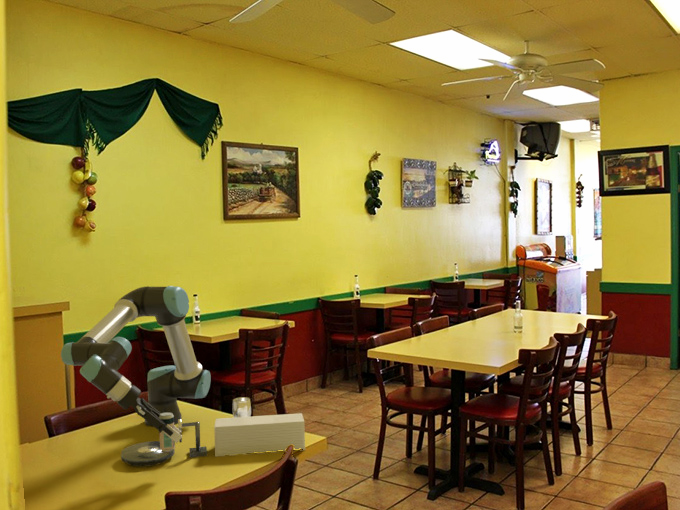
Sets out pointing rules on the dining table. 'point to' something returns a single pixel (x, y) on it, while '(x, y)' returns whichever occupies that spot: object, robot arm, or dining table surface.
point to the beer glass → (241, 407)
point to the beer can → (165, 441)
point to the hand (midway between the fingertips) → (178, 437)
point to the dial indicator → (198, 450)
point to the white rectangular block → (258, 434)
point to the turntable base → (148, 464)
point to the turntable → (145, 453)
